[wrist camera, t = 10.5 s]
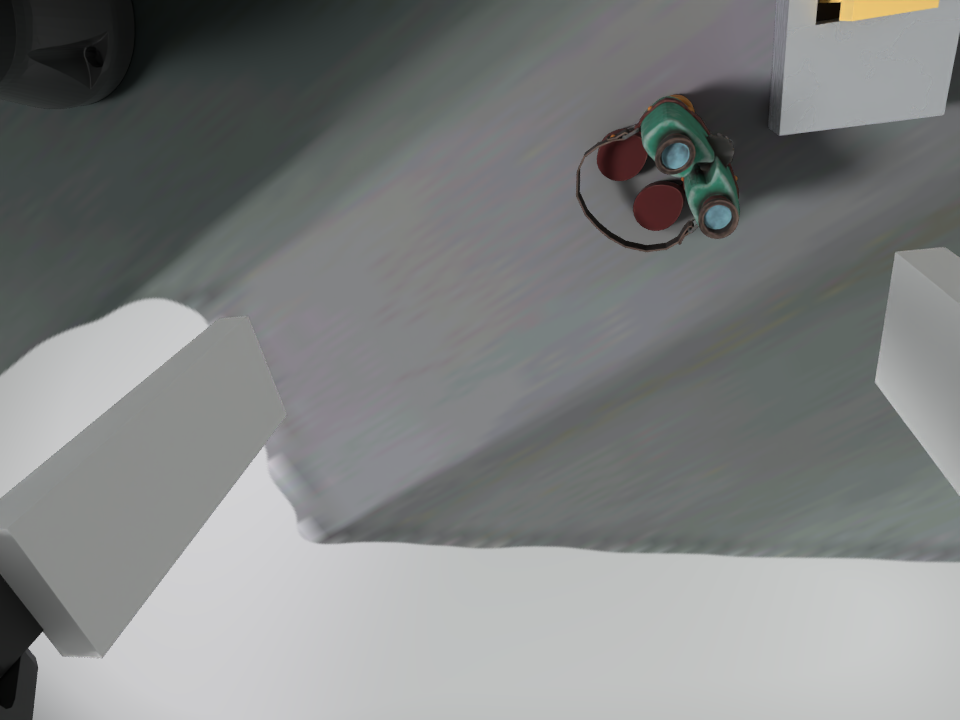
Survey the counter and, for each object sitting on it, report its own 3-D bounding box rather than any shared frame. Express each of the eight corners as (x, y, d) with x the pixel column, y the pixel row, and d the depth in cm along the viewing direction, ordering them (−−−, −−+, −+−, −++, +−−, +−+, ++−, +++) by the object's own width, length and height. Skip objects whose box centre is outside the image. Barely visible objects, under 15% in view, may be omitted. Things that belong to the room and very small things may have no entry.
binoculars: (541, 207, 36) (693, 93, 31) (564, 159, 45) (687, 63, 39) (627, 317, 39) (781, 229, 33) (634, 252, 47) (758, 174, 42)
